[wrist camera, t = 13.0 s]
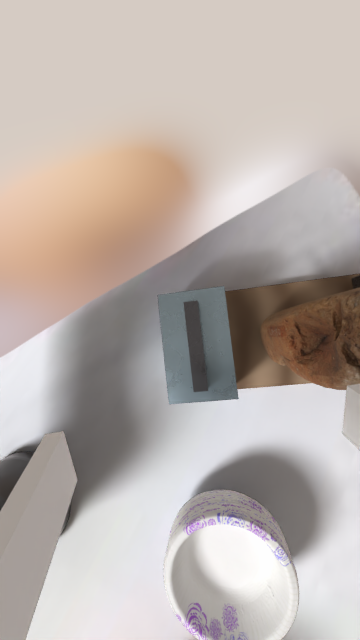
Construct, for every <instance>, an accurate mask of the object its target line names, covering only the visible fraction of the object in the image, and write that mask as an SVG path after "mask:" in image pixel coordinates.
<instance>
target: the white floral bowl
mask: <svg viewBox="0 0 360 640" xmlns="http://www.w3.org/2000/svg"><path fill="white" fill-rule="evenodd" d="M163 572H164V585H165V590H166V593H167V597H168V599H169V603H170V605H171V607H172V609H173V611H174V612H175V615H176V616H177V617H178V619H179V621H180V622H181V623H182V625H183V626H184V627H185V628H186V629H187V630H188V631H189V632H190V633H191V634H192V635H193V636H194V637H196V638H197V639H198V640H281V639H282V638H283V637H284V636H285V635H286V634H287V632H288V631H289V629H290V628H291V626H292V624H293V622H294V620H295V617H296V613H297V609H298V605H299V585H298V578H297V573H296V570H295V566H294V564H293V561H292V558H291V554H290V551H289V548H288V545H287V543H286V540H285V537H284V535H283V533H282V531H281V528H280V527H279V525H278V523H277V522H276V520H275V519H274V517H273V516H272V515H271V513H270V512H269V511H268V510H267V509H265V508H264V507H263V506H262V505H261V504H260V503H259V502H257V501H256V500H254V499H252V498H250V497H249V496H246V495H245V494H242V493H239V492H236V491H232V490H212V491H207V492H203V493H200V494H198V495H196V496H194V497H193V498H191V499H190V500H189V501H188V502H187V503H185V504H184V506H183V507H182V508H181V509H180V511H179V512H178V514H177V516H176V518H175V520H174V522H173V525H172V528H171V532H170V536H169V540H168V546H167V550H166V555H165V559H164V568H163Z"/></svg>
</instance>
